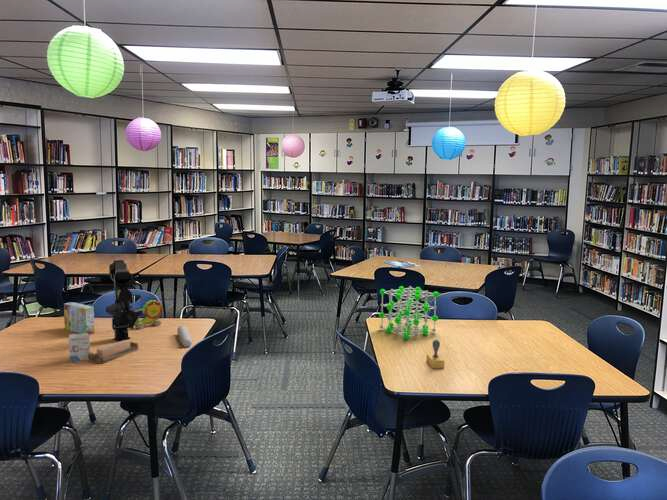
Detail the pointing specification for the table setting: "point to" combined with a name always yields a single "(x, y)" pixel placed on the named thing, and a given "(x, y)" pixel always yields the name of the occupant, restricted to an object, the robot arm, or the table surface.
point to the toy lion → (150, 314)
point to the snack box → (79, 318)
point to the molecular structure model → (408, 311)
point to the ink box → (79, 346)
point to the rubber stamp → (435, 356)
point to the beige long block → (113, 348)
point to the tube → (184, 336)
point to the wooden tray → (104, 359)
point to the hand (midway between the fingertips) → (124, 327)
